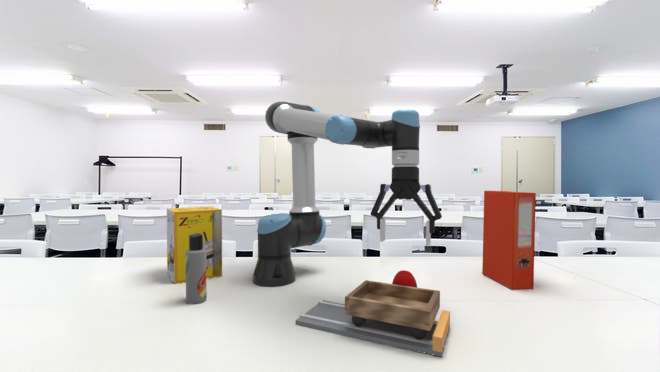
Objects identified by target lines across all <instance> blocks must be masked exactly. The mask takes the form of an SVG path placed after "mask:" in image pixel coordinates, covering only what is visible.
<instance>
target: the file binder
mask: <svg viewBox="0 0 660 372" xmlns="http://www.w3.org/2000/svg"><path fill="white" fill-rule="evenodd" d="M536 199H537V194H536V192H527V191H523V192H522V191H512V190H511V191H510V190H509V191H508V190H484V191H483V228H482V229H483V231H482V232H483V235H482V270H481V271H482V275H483V276H485V277H487V278H489V279H491V280H493V281H494V282H497V283H498V284H500V285H503V286H504V287H507V288H508V289H510V290H511V291H512V290H513V291H514V290H515V291H517V290H519V291H521V290H522V291H523V290H534V281H535V280H534V279H535V278H534V277H535V242H536V241H535V239H536V238H535V237H536V204H537V203H536Z"/></svg>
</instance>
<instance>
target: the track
mask: <svg viewBox="0 0 660 372" xmlns="http://www.w3.org/2000/svg"><path fill="white" fill-rule="evenodd" d="M295 325H296V326H297V325H299V326H302V327H306V328H311V329H315V330H320V331H324V332H328V333H334V334H338V335H342V336H347V337H351V338H355V339H360V340H364V341H368V342H373V343H377V344H381V345H386V346H390V345H391V346H390V347H394V346H395V348H399V347H400V348H399V349H403V348H405V349H404V350H407V349H410V350H409V351H412V350H415V351H414V352H416V351H420V352H419V353H421V352H425V353H429V354H434V355H437V356H436V357H438V356H442V357H443V355H444V351H443V350H445V347H446V344H445V343H447V340H446V339H448V337H449V332H450V329H451V311H450V310H444V309H442V310H441V313H440V317H439V318H438V320H434V323H433V325H432V328H431V330H430V331H428V330H427V333H426V335H425V337H424V338H423V339H421V340H419V339H416V338H414V337H413V335H412V333H411V330H412V328H413V327H408V326H403V325H398V324H392V323H387V322H382V321H377V320H372V319H367V318H366V321H365V323H364V324H363V325H362V326H361V327H357V326H355V325H354V324H353V322H352V315H346V314H345V303H340V302H334V301H329V300H324V299H323V300H319V301H318V302H317V304H316V305H314V306H313V307H312V308H310V309H309V310H308V311H306V312H305V313H301V314H300V315H299V317H298V318H297V319H296V320H295ZM444 346H445V347H444ZM425 353H424V354H425ZM429 354H428V355H429ZM434 355H433V356H434Z"/></svg>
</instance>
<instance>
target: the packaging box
mask: <svg viewBox="0 0 660 372" xmlns="http://www.w3.org/2000/svg"><path fill="white" fill-rule="evenodd" d="M196 233H201V234H202V235H203V249H206V280H208V279H207V278H209V279H214V277H216V278H220V277H221V276H222V277H223V209H221V208H219V207H218V208H217V207H215V206H214V207H213V206H194V207H193V206H191V207H173V208H169V207H168V208H166V251H167V252H166V253H167V254H166V256H167V257H166V259H167V260H166V261H167V263H166V264H167V265H166V266H167V268H166V269H167V270H166V271H167V275H168V274H169V275H168V276H169V277H171V278H170V279H171V281H172V280H173V281H172V283H175V284H174V285H177V283H179V284H184V283H183V282H185V283H186V251H187V250H189V235H192V234H196Z"/></svg>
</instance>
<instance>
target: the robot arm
mask: <svg viewBox="0 0 660 372" xmlns="http://www.w3.org/2000/svg"><path fill="white" fill-rule="evenodd" d="M264 115H265V117H264V119H265V123H266V125H267V127H269V129H270V130H272V131H273V132H275V133H279V134H283V135H286V136H287V141H288V143H289V144H290V145H291V171H292V173H291V174H292V176H291V177H292V178H291V179H292V207H291V208H290V209H289V211H288V213H287V212H286V213H285V212H283V213H281V212H280V213H272V214H268V215H264V216H262V217H260V218H259V220H258V222H257V230H256V231H257V260H256V264H255V266H254V271H253V273H252V282H253V283H254V284H255V285H258V286H263V287H280V286H285V285H289V284H292V283H293V282H295V281H296V280H297V279H296V271H295V268H294V264H293V261H292V258H291V257H292V256H291V254H292V252H291V251H292V249H295V248H299V247H306V246H307V247H310V246H312V245H315V244H316V245H317V244H319V243H320V242H322V240H323V239H324V237H325V235H326V232H327V225H326V224H327V222H326V220H324V219H325V217H324V216H323V215H321V214H320V209H319V208H317V206H316V189H315V188H316V187H315V186H316V184H315V182H316V179H315V176H316V174H315V143H317V141H318V139H322V140H327V141H329V142H330V143H333V144H336V145H348V146H357V147H362V148H364V149H373V150H374V149H377V148H386V147H391V166H392V168H391V183H390V184H386V183H381V184H380V186H379V187H380V188H379V193H378V196H377V197H376V200H375V202H374V204H373V206H372V209H371V211H370V216H372V217H375V218H376V229H377V230H379V242H380V243H381V242H384V241H386V218H385V217H384V216H385V214H387V212H388V210H390V208H391V207H392V205H393V204H394V203H395V202H396V201H397V200H407V201H408V200H409V201H410V200H413V201H414V202H415V203H416V204H417V206H418V208H419V209H420V210H421V211H422V213H423V214H424V215H425V216H426V218H427V220H426V222H425V247H426V246H427V247H429V246H431V244H432V243H431V239H432V237H431V235H432V234H434V233H435V230H436V227H435V225H436V224H435V223H436V221H437V220H440V219H442V218H443V215H442V213H441V210H440V209H439V207H438V205H437V202H436V200H435V198H434V195H433V193H432V185H431V184H430V183H427V184H421V183H420V168H419V167H418V166H419V165H420V129H421V125H420V114H419V112H418V111H417V110H415V109H409V108H408V109H404V108H403V109H397V110H395V111H393V112H392V113H391V118H390V120H385V121H374V120H368V119H361V118H357V117H350V116H348V115H342V114H340V115H337V114H333V113H325V112H320V110H319V109H318V108H316V107H313V106H311V105H307V104H306V105H305V104H299V103H293V102H288V101H277V102H274V103H272V104H270V105H269V106H268V108H267V109H266V110H265V114H264ZM389 190H390V191H391V192H392V194H391V196H390V197H389V199H388V200H387V201H386V203H385V204H384V205H383V207H381V205H382V203H383V202H384V198H385V197H386V193H387V192H388V191H389ZM421 190H422V192H423V193H425V196H426V198H427V201H428V202H429V205H430V206H431V207H430V208H431V209H432V212H433V213H432V212H431V210H430V209H429V208H428V206H427V205H426V204H425V202H424V201H423V199H422V198H421V197H420V195H419V194H418V193H419V192H420V191H421ZM380 208H381V209H380Z"/></svg>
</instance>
